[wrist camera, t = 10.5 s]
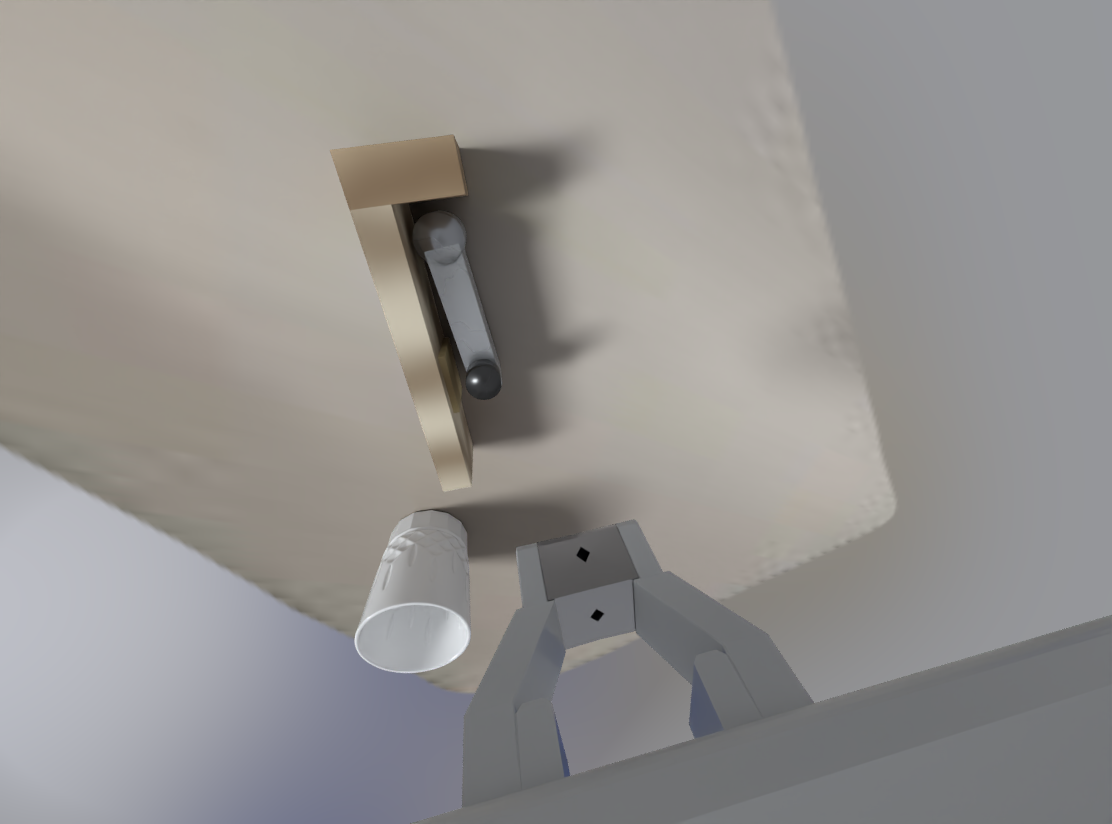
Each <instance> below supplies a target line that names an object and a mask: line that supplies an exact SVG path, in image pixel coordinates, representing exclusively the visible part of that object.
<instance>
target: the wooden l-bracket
mask: <svg viewBox="0 0 1112 824" xmlns="http://www.w3.org/2000/svg"><path fill="white" fill-rule="evenodd" d="M330 152H331V155H332V158H333V161H334V164H335V167H336V170H337V173H338V176H339V179H340V182H341V185H342V188H343V191H344V194H345V197H346V200H347V203H348V206H349V209H350V212H351V215H352V218H353V221H354V224H355V227H356V230H357V233H358V236H359V239H360V242H361V245H362V248H363V251H364V254H365V257H366V260H367V263H368V266H369V269H370V272H371V275H372V278H373V281H374V284H375V287H376V290H377V293H378V296H379V299H380V302H381V306H382V309H383V312H384V315H385V318H386V321H387V324H388V327H389V330H390V333H391V336H392V339H393V342H394V345H395V348H396V351H397V354H398V357H399V360H400V363H401V366H402V369H403V372H404V375H405V378H406V381H407V384H408V387H409V390H410V393H411V396H412V399H413V402H414V405H415V408H416V411H417V414H418V417H419V420H420V423H421V426H422V429H423V432H424V435H425V438H426V441H427V444H428V447H429V450H430V453H431V456H432V459H433V462H434V465H435V468H436V471H437V474H438V477H439V480H440V483H441V486H442V489H443V492H446V491H451V490H456V489H461V488H466V487H471V486H472V463H473V443H472V439H471V435H470V432H469V428H468V424H467V420H466V417H465V413H464V409H463V405H462V402H461V395H462V385H461V381H460V377H459V373H458V370H457V366H456V362H455V358H454V354H453V350H452V346H451V343H450V339H449V337H447V338H444V334H443V330H442V327H441V323H440V319H439V315H438V312H437V308H436V304H435V300H434V297H433V293H432V289H431V285H430V282H429V278H428V274H427V270H426V267H425V263H424V260H423V259H422V258H421V257H420V256H419V254H418V253H417V251H416V249H415V247H414V244H413V238H412V234H413V228H414V226H415V225H414V222H413V218H412V214H411V210H410V207H409V204H410V203H417V202H425V201H432V200H439V199H447V198H454V197H461V196H468V190H467V185H466V180H465V175H464V170H463V165H462V160H461V155H460V150H459V147H458V144H457V142H456V140H455V137H454V135H447V136H439V137H431V138H423V139H415V140H407V141H399V142H391V143H383V144H375V145H366V146H358V147H350V148H342V149H334V150H330Z"/></svg>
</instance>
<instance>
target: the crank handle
mask: <svg viewBox="0 0 1112 824" xmlns="http://www.w3.org/2000/svg"><path fill="white" fill-rule="evenodd" d="M412 238H413V244H414V247H415V249H416V251H417V253H418V254H419V256H420V257H421V258H422V259H423V260H424V261H426V262H427V263H428V265H429V268H430V271H431V273H432V276H433V279H434V282H435V285H436V287H437V290H438V293H439V296H440V299H441V302H442V304H443V307H444V310H445V313H446V316H447V318H448V321H449V324H450V327H451V330H452V333H453V335H454V338H455V341H456V344H457V347H458V349H459V352H460V355H461V358H462V361H463V363H464V366H465V369H466V372H467V375H466V388H467V390H468V392H469V393H470V394H471V395H472V396H473V397H475V398H477V399H481V400H487V399H491V398H493V397H495V396H496V395H497V394H498V393H499V391H500V389H501V385H502V375H501V366H500V362H499V359H498V356H497V353H496V349H495V346H494V343H493V340H492V336H491V333H490V330H489V327H488V323H487V320H486V317H485V314H484V310H483V307H482V304H481V300H480V297H479V294H478V291H477V287H476V284H475V281H474V278H473V274H472V271H471V268H470V265H469V261H468V258H467V255H466V252H465V245H466V240H467V235H466V230H465V227H464V225H463V223H462V222H461V221H460V219H459V218H458V217H457V216H455V215H454V214H452V213H450V212H447V211H435V212H431V213H428V214H425V215H423V216H422V217H421V218H420V219H418V221H417V222H416V224H415V226H414V228H413V234H412Z"/></svg>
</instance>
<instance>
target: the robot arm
mask: <svg viewBox="0 0 1112 824" xmlns="http://www.w3.org/2000/svg"><path fill="white" fill-rule="evenodd" d="M537 545H538V546H537ZM516 558H517V566H518V574H519V582H520V590H521V598H522V607H523V608H520V609H517V610H516V611H515V614H514V616H513V618H512V620H511V622H510V624H509V626H508V628H507V630H506V632H505V634H504V636H503V638H502V640H501V642H500V644H499V646H498V648H497V650H496V652H495V654H494V656H493V658H492V660H491V662H490V664H489V667H488V669H487V671H486V673H485V675H484V677H483V679H482V681H481V683H480V685H479V687H478V689H477V691H476V693H475V695H474V697H473V699H472V701H471V703H470V705H469V707H468V709H467V711H466V713H465V715H464V734H463V736H464V737H463V784H462V786H463V787H462V808H461V809H458V810H454V811H451V812H447V813H444V814H441V815H437V816H434V817H431V818H427V819H424V820H421V821H417V822H414V823H410V824H1112V615H1110V616H1106V617H1103V618H1100V619H1096V620H1093V621H1089V622H1086V623H1083V624H1079V625H1076V626H1073V627H1069V628H1066V629H1062V630H1059V631H1056V632H1052V633H1049V634H1046V635H1042V636H1039V637H1036V638H1032V639H1029V640H1026V641H1022V642H1019V643H1015V644H1012V645H1009V646H1005V647H1002V648H999V649H995V650H992V651H988V652H985V653H982V654H978V655H975V656H972V657H968V658H965V659H962V660H958V661H955V662H951V663H948V664H945V665H941V666H938V667H935V668H931V669H928V670H925V671H921V672H918V673H914V674H911V675H908V676H904V677H901V678H898V679H894V680H891V681H888V682H884V683H881V684H877V685H874V686H871V687H867V688H864V689H861V690H857V691H854V692H851V693H847V694H844V695H841V696H837V697H834V698H830V699H827V700H824V701H820V702H817V703H814V702H813V700H812V699H811V697H810V696H809V694H808V693H807V691H806V690H805V689H804V687H803V686H802V684H801V683H800V681H799V680H798V678H797V677H796V675H795V674H794V672H793V671H792V669H791V668H790V666H789V665H788V663H787V662H786V660H785V659H784V657H783V656H782V654H781V653H780V651H779V650H778V648H777V647H776V645H775V644H774V643H773V641H772V639H771V638H770V636H769V635H768V634H767V633H766V632H764V631H763V630H761V629H759V628H758V627H756V626H755V625H753V624H752V623H750V622H748V621H747V620H745V619H744V618H742V617H741V616H739V615H737V614H736V613H734V612H733V611H731V610H730V609H728V608H726V607H725V606H723V605H722V604H720V603H719V602H717V601H716V600H714V599H712V598H711V597H709V596H708V595H706V594H705V593H703V592H701V591H700V590H698V589H697V588H695V587H694V586H692V585H690V584H689V583H687V582H686V581H684V580H683V579H681V578H680V577H678V576H676V575H675V574H673V573H672V572H670V571H667V572H663V571H662V569H661V567H660V565H659V563H658V561H657V559H656V557H655V555H654V553H653V551H652V550H651V548H650V546H649V544H648V542H647V540H646V538H645V536H644V534H643V532H642V530H641V528H640V526H639V524H638V522H637V521H636V520H635V519H633V520H629V521H625V522H621V523H617V524H615V525H614V524H612V525H608V526H604V527H600V528H596V529H592V530H588V531H584V532H580V533H576V534H574V535H569V536H565V537H560V538H555V539H550V540H546V541H541V542H537V543H533V544H528V545H524V546H519V547H516ZM633 631H636V633H637V634H638V635H639V636H640V637H641V638H642V639H643V640H644V641H645V642H646V643H647V644H648V645H650V646H651V647H652V648H653V649H654V650H655V651H656V652H657V653H658V654H659V655H660V656H661V657H662V658H663V659H664V660H666V661H667V662H668V663H669V664H670V665H671V666H672V667H673V668H674V669H675V670H676V671H677V672H678V673H679V674H680V675H681V676H682V677H684V678H685V679H686V680H687V681H688V682H689V683H690V684H691V685H692V694H691V705H690V717H689V726H690V728H691V731H692V733H693V736H694V738H695V739H693V740H689V741H686V742H682V743H679V744H676V745H673V746H669V747H666V748H662V749H659V750H656V751H652V752H649V753H645V754H643V755H639V756H635V757H632V758H629V759H625V760H622V761H619V762H615V763H612V764H608V765H605V766H602V767H599V768H595V769H592V770H588V771H585V772H582V773H578V774H575V775H571V776H570V772H569V766H568V761H567V757H566V753H565V749H564V746H563V742H562V738H561V735H560V731H559V727H558V723H557V720H556V716H555V712H554V709H553V705H552V703H551V701H552V697H553V694H554V691H555V687H556V683H557V680H558V677H559V674H560V670H561V667H562V663H563V660H564V657H565V653H566V651H565V650H566V649H569V648H573V647H576V646H579V645H583V644H586V643H589V642H593V641H596V640H599V639H604V638H608V637H612V636H616V635H620V634H625V633H629V632H633Z"/></svg>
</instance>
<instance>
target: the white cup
mask: <svg viewBox="0 0 1112 824" xmlns="http://www.w3.org/2000/svg"><path fill="white" fill-rule="evenodd" d="M470 638H471V618H470V575H469V560H468V555H467V532H466V530H465V528H464V527H463V525H462V523H461V521H459V520H458V519H456V518H455V517H453V516H452V515H450V514H448V513H444V512H439V511H434V510H428V511H421V512H415V513H413V514H411V515H409V516H407V517H405V518H403V519H402V520H400V521H399V523H398V524H397V526H396V527H395V529H394V530H393V531H392V534H391V537H390V540H389V543H388V546H387V549H386V551H385V553H384V555H383V557H382V560H381V563H380V566H379V568H378V571H377V573H376V576H375V579H374V582H373V585H372V588H371V591H370V594H369V597H368V600H367V603H366V605H365V608H364V611H363V614H362V617H361V620H360V623H359V626H358V629H357V631H356V635H355V647H356V649H357V651H358V653H359V654H360V656H361V657H362V658H363V659H364V660H365V661H367V662H368V663H370V664H371V665H373V666H375V667H378V668H380V669H383V670H387V671H391V672H398V673H417V672H424V671H429V670H433V669H436V668H439V667H442V666H444V665H446V664H448V663H450V662H452V661H453V660H455V659H456V658H458V657H459V656H460V655H461V654H462V653H463V652H464V651H465V649H466V648H467V646H468V644H469V642H470Z"/></svg>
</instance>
